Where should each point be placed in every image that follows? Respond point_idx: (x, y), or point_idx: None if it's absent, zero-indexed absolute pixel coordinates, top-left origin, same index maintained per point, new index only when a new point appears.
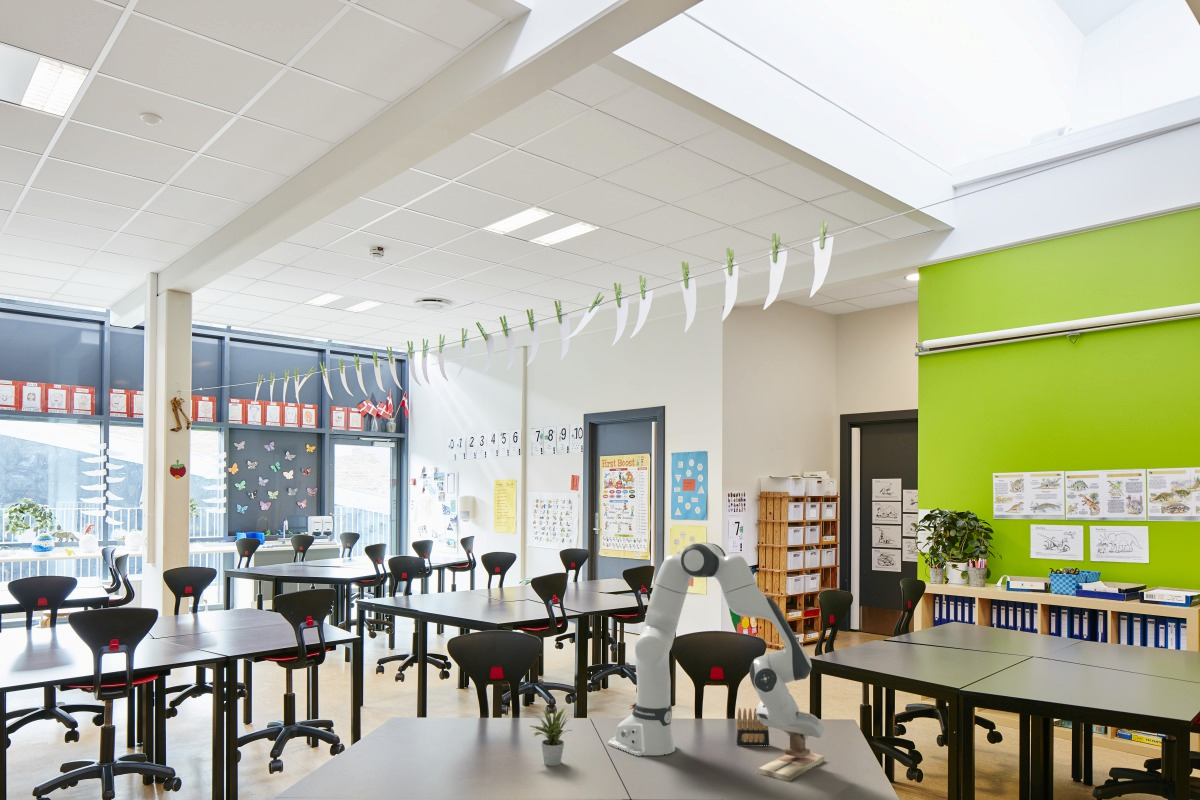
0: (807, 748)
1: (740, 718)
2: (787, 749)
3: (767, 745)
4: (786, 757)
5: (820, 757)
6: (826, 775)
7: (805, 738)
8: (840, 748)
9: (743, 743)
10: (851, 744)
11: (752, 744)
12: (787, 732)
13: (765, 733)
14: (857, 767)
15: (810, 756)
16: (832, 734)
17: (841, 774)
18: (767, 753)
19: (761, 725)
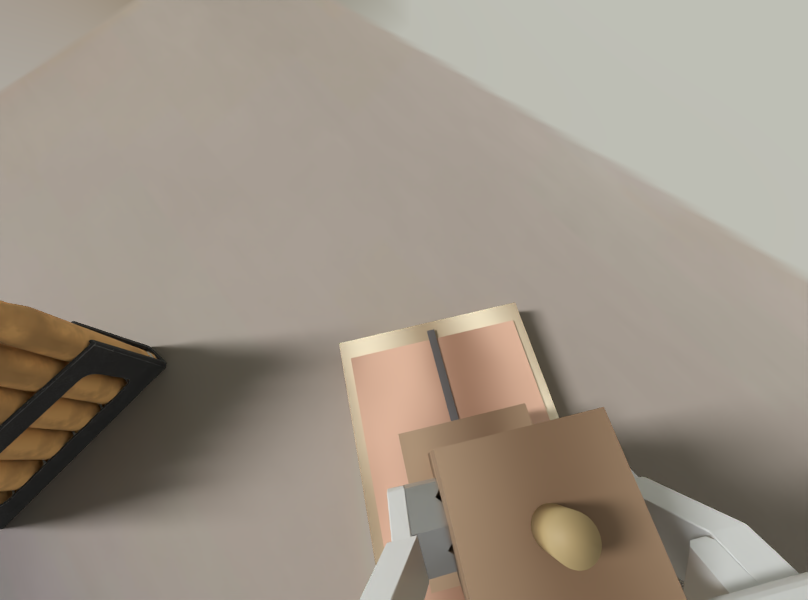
0: (507, 408)
1: None
2: (444, 581)
3: (157, 372)
4: None
5: (520, 335)
6: (711, 502)
7: None
8: (418, 130)
9: (23, 495)
10: (411, 71)
11: (79, 445)
12: (424, 594)
13: (93, 365)
14: (656, 252)
15: (482, 375)
16: (288, 46)
17: (724, 406)
18: (226, 480)
19: (13, 374)
